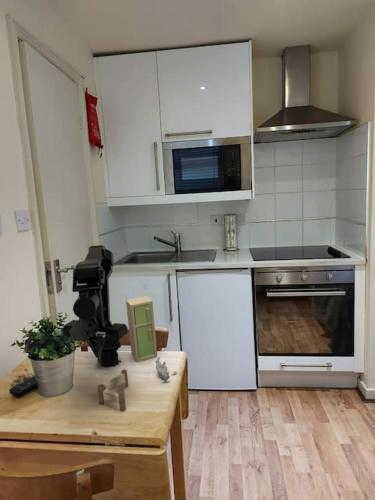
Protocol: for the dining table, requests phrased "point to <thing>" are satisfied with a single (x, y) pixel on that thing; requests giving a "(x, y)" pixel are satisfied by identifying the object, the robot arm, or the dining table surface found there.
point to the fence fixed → (111, 398)
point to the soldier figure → (162, 369)
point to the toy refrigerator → (141, 328)
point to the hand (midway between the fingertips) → (97, 357)
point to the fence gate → (117, 382)
